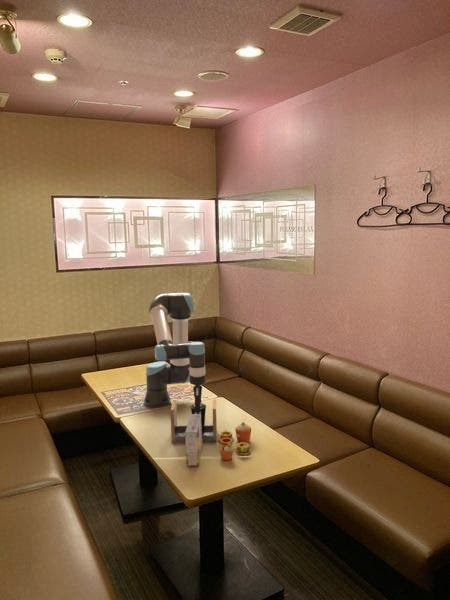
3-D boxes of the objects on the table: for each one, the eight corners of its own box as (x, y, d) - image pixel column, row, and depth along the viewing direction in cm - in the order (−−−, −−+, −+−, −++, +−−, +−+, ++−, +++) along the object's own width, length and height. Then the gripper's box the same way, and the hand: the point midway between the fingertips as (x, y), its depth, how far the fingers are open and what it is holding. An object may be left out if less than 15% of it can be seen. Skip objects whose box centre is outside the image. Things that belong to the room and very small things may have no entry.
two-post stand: (174, 431, 238) (173, 400, 236) (216, 430, 238) (216, 399, 236) (171, 442, 224) (170, 409, 222) (216, 441, 224) (215, 408, 222)
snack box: (190, 444, 222) (190, 413, 220) (203, 444, 222) (202, 413, 220) (185, 466, 201) (184, 431, 199) (199, 466, 201) (198, 431, 199)
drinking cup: (187, 433, 231) (186, 393, 228) (199, 429, 236) (198, 389, 234) (198, 438, 226) (197, 396, 223) (210, 433, 231) (209, 392, 229)
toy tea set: (218, 437, 231) (218, 417, 229) (251, 436, 230) (250, 417, 229) (216, 462, 205) (216, 440, 203) (253, 461, 204) (253, 440, 203)
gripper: (190, 369, 237) (191, 414, 240) (188, 381, 218) (189, 429, 221) (205, 369, 237) (206, 414, 240) (204, 380, 218) (205, 429, 221)
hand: (198, 421), depth 230 cm, fingers closed on drinking cup, 6 cm apart
